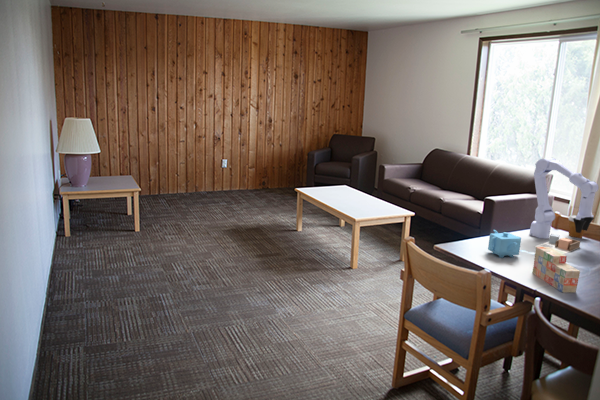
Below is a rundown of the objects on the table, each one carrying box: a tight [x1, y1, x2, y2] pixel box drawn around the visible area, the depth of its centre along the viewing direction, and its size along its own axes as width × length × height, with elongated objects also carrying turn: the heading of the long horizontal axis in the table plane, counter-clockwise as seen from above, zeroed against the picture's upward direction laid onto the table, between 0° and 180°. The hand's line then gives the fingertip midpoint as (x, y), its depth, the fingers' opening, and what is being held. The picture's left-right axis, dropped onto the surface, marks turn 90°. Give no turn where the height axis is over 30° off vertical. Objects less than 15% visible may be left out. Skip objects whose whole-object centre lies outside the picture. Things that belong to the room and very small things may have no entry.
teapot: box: [487, 229, 522, 259], centre depth 232 cm, size 16×18×11 cm
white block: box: [548, 233, 560, 244], centre depth 250 cm, size 4×4×4 cm
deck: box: [534, 241, 581, 255], centre depth 243 cm, size 14×20×1 cm
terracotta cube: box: [558, 237, 572, 250], centre depth 241 cm, size 4×4×4 cm
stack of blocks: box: [532, 246, 581, 293], centre depth 199 cm, size 21×6×12 cm, turn 5°
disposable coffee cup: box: [568, 214, 585, 239], centre depth 263 cm, size 10×10×12 cm
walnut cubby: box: [555, 237, 581, 252], centre depth 243 cm, size 7×11×3 cm
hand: (581, 231), depth 242 cm, fingers open, 7 cm apart
